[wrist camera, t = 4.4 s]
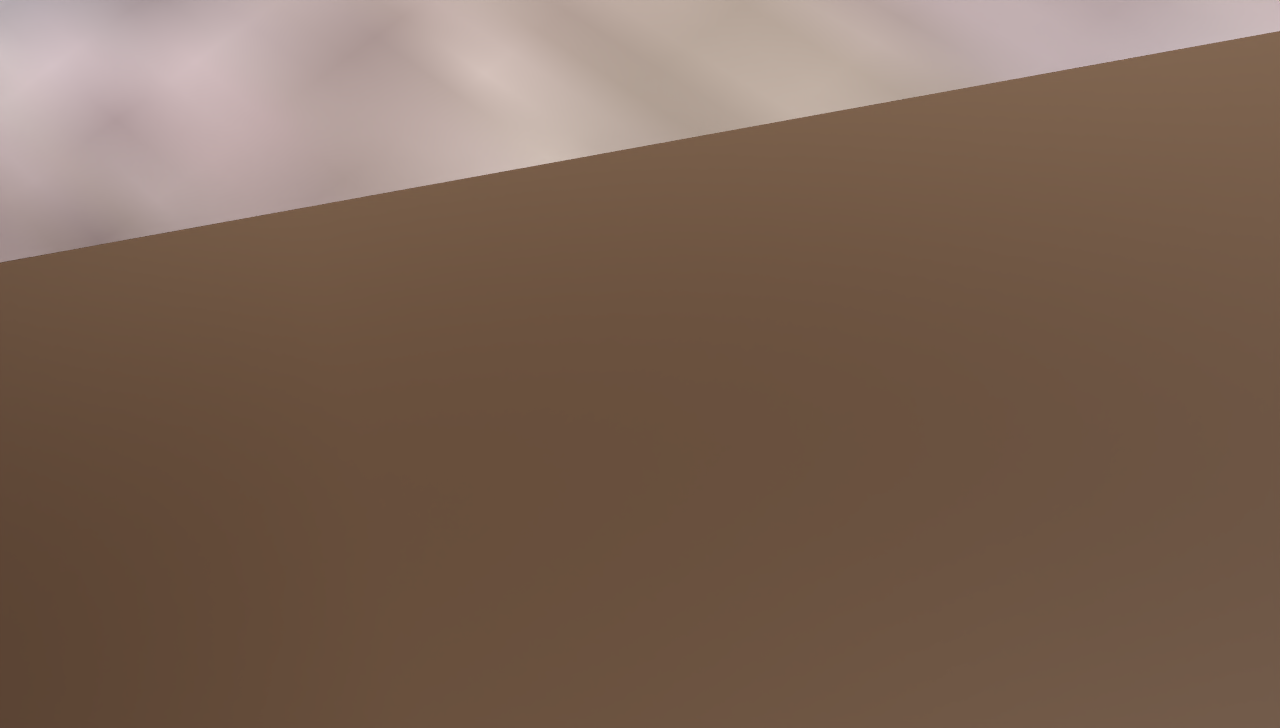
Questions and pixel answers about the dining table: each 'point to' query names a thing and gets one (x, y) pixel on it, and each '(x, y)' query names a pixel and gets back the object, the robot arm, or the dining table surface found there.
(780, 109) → the dining table surface
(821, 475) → the walnut block
